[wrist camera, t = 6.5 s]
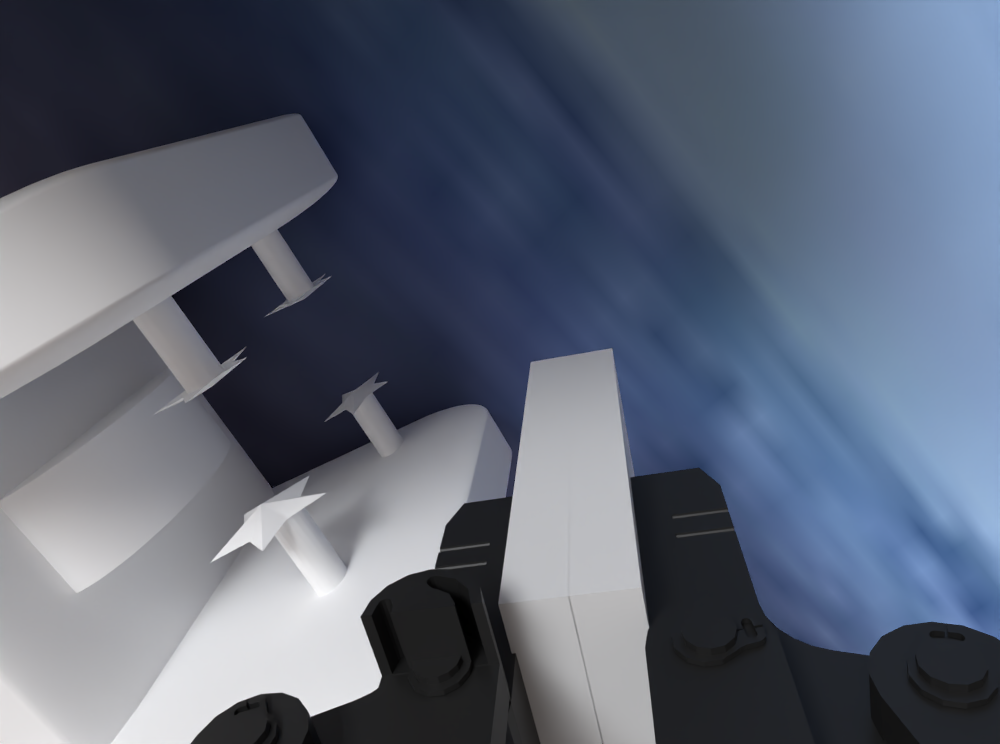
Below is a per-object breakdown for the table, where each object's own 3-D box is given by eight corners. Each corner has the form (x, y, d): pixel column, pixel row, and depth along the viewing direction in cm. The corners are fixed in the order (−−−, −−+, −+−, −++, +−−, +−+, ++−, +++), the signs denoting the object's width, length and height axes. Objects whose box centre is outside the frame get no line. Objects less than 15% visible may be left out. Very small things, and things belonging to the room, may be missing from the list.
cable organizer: (135, 596, 26) (-174, 984, 15) (-89, 336, 23) (-679, 598, 12) (523, 423, 22) (472, 784, 11) (319, 76, 19) (-24, 124, 8)
